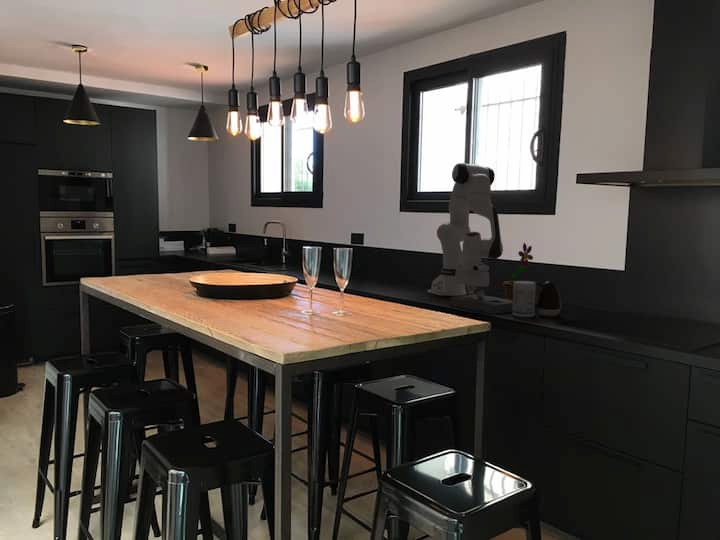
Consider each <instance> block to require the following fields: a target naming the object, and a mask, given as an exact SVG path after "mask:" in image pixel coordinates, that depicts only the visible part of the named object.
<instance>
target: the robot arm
mask: <svg viewBox="0 0 720 540" xmlns="http://www.w3.org/2000/svg"><path fill="white" fill-rule="evenodd" d="M495 175H496V174H495V171H494V169H493V168H491V167H489V166H484V165H480V164H473V163H465V162H461V163H460V162H459V163H456V164H455V165H454V167H453V168H452V172H451V177H452V180H453V182H454V184H453V187H452V192H451V194H450V200H449V204H448V212H449V218H450V219H449V221H448V222H447V221H446V222H444V223H443V224H441V225H439V226H438V227H437V230H436V236H437V238H438V240H439V241H440V245H441V250H442V251H441V252H442V268H439V272H440V275H438V276H437V277H436V278H435V279H434V280H432V282H431V289H427V290H426V292H427V293H430V294H434V295H437V296H449V297H458V296H467V295H476V293H475V292H476V290H477V288H478V287H480V288H487V287H489V286H490V272H489V271H490V266H489V265H487V264H485V263H484V262H483V261H482V259H490V260H491V259H492V260H497V259H498V258H500V257H501V256H502V255H503V252H504V247H503V242H502V237H501V230H500V229H501V228H500V220H499V214H498V210H497V208H496V206H495V205H493V204H492V199H491V197H492V194H491V193H492V192H491V191H492V188H491V186H493V183H494V181H495V179H496V177H495ZM470 211H472V213H475V214H476V215H478V216H481V217H483V218H486V219H487V220H488V221H489V223H490V231H491V232H490V233H491V237H489V238H482V237H481V233H480V232H478V231H471V228H470V221H469V220H470ZM461 243H462V245H461Z"/></svg>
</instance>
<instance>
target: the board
mask: <svg viewBox="0 0 720 540" xmlns="http://www.w3.org/2000/svg"><path fill="white" fill-rule="evenodd" d="M449 303H450V305H456V306H460V307H466V308H470V309H474V310H473V311H475V310H478V311H477V312H479V311H482V312H481V313H484V312H486V314H489V313H492V314H491V315H498V314H497V313H500V314H505V313H506V312H508V313H512V308H513V300H508V299H506V298H502V297H501V298H500V297H496V296H488V295H485V297H484V298H482V299H479V298H478V297H477V295H476V294H474V295H470V294H466V295H460V296H450V302H449ZM460 307H459V308H460ZM470 309H469V310H470Z"/></svg>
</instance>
